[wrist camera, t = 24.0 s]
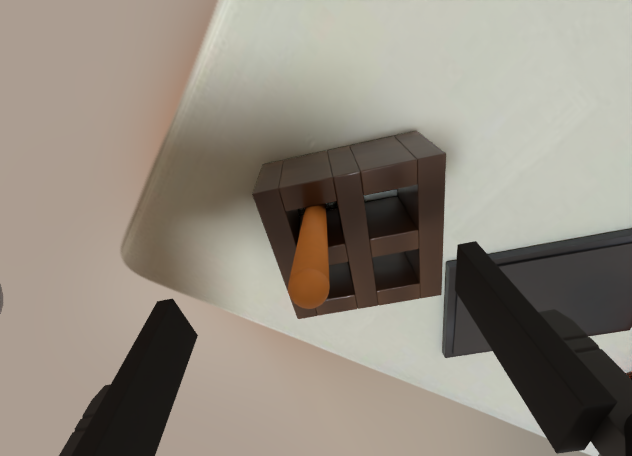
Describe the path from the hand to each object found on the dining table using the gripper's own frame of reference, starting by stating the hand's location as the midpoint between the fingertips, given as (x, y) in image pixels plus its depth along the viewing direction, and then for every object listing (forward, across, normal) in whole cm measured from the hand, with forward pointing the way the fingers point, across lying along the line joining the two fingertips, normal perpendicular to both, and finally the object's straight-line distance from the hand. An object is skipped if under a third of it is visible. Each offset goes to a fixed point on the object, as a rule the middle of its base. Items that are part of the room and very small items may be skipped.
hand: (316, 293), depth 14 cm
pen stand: (+11, +3, -2) cm, 11 cm away
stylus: (+11, 0, 0) cm, 11 cm away
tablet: (+10, +21, -16) cm, 28 cm away
